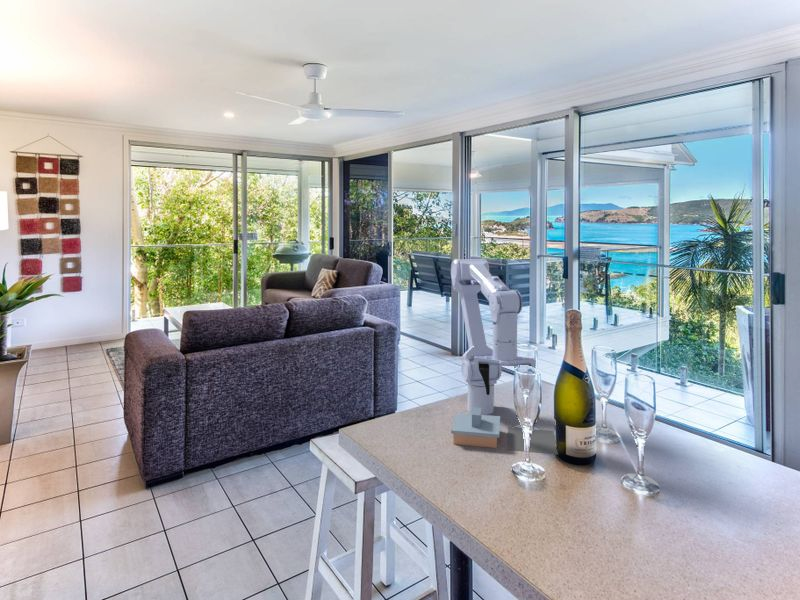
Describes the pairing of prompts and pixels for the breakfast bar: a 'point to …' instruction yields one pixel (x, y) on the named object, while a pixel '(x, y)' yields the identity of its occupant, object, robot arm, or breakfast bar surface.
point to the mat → (532, 441)
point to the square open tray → (475, 440)
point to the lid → (476, 424)
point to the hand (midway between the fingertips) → (504, 394)
